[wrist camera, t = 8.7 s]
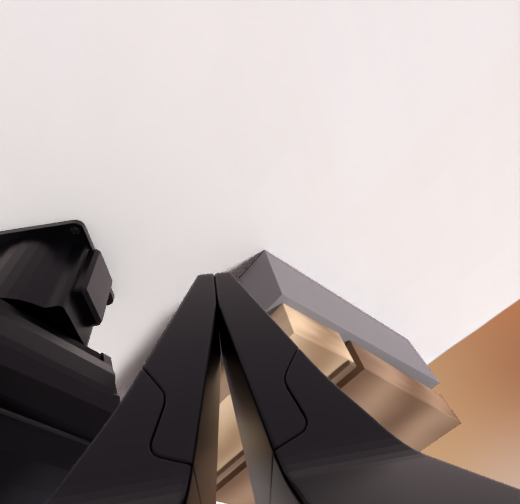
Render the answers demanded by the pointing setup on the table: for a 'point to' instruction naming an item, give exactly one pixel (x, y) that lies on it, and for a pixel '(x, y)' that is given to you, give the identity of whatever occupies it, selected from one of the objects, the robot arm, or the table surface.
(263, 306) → the underlay block
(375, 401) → the walnut plank
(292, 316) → the oak panel
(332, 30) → the table surface
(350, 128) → the table surface
